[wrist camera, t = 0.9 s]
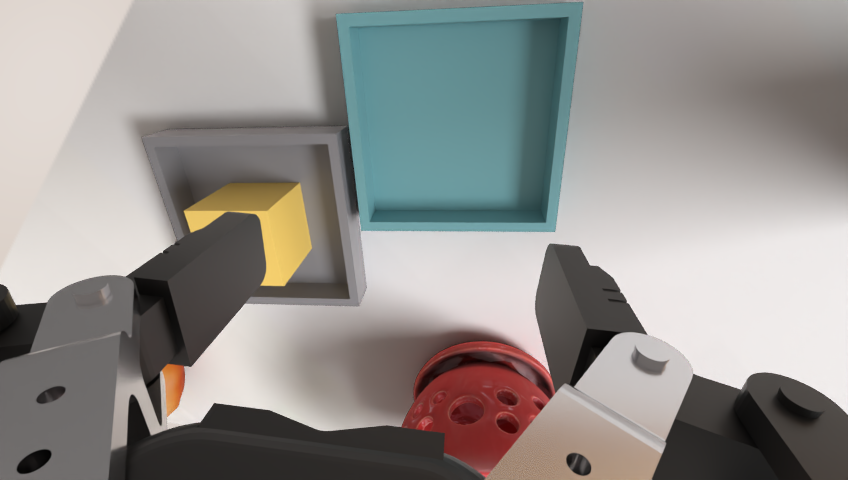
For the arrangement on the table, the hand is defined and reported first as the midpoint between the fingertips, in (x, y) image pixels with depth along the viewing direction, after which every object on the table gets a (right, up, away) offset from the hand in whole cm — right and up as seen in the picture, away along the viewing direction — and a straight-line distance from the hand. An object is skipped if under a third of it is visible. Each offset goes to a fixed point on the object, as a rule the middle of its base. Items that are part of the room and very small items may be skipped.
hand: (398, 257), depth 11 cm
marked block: (-10, +2, +17) cm, 20 cm away
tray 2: (+3, +8, +13) cm, 16 cm away
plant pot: (+6, -12, +23) cm, 27 cm away
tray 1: (-10, +2, +17) cm, 20 cm away
